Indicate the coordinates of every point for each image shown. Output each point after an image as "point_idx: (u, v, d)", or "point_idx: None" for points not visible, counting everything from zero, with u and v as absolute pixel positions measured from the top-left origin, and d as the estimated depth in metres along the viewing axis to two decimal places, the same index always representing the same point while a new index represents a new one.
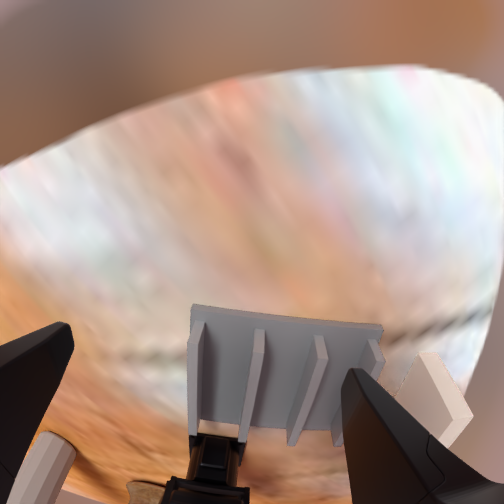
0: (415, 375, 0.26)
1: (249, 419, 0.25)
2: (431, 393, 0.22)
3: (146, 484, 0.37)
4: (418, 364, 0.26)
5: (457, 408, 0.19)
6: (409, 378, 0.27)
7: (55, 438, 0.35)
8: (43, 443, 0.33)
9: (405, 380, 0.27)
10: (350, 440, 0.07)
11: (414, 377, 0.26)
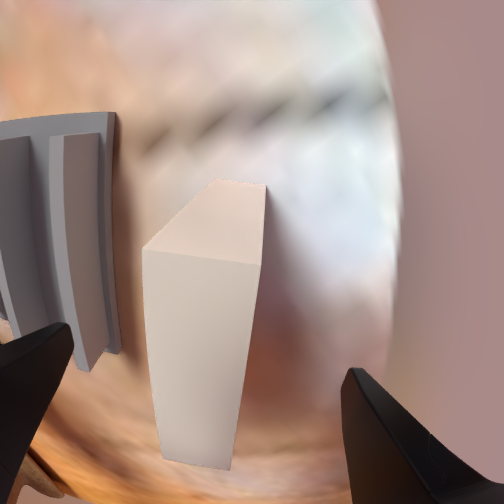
0: None
1: None
2: None
3: None
4: None
5: (202, 236, 0.07)
6: None
7: None
8: None
9: None
10: (350, 440, 0.07)
11: None
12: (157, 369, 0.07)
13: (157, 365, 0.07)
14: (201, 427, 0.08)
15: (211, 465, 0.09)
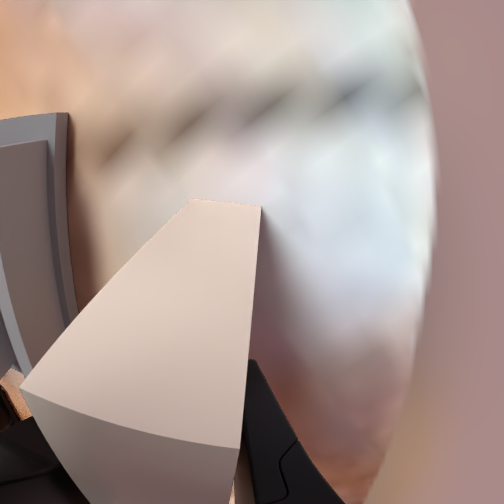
0: None
1: None
2: None
3: None
4: None
5: (133, 350, 0.03)
6: None
7: None
8: None
9: None
10: None
11: None
12: None
13: (98, 503, 0.04)
14: None
15: None
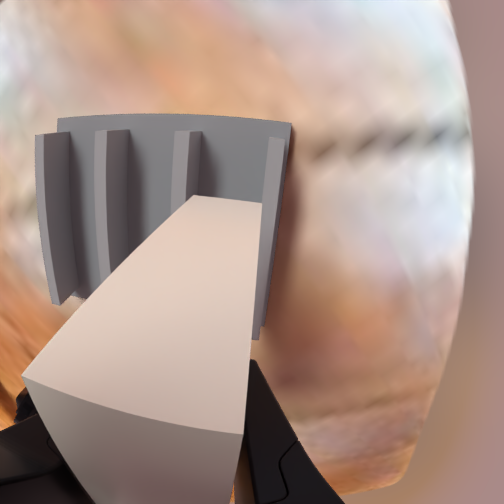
0: None
1: (108, 264, 0.18)
2: None
3: None
4: None
5: (136, 338, 0.04)
6: None
7: None
8: None
9: None
10: None
11: None
12: (101, 500, 0.04)
13: (99, 497, 0.04)
14: None
15: None
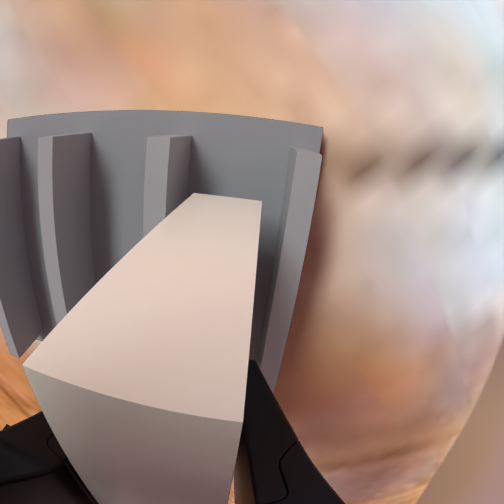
0: None
1: None
2: None
3: None
4: None
5: (138, 330, 0.04)
6: None
7: None
8: None
9: None
10: None
11: None
12: (100, 495, 0.04)
13: (98, 491, 0.04)
14: None
15: None
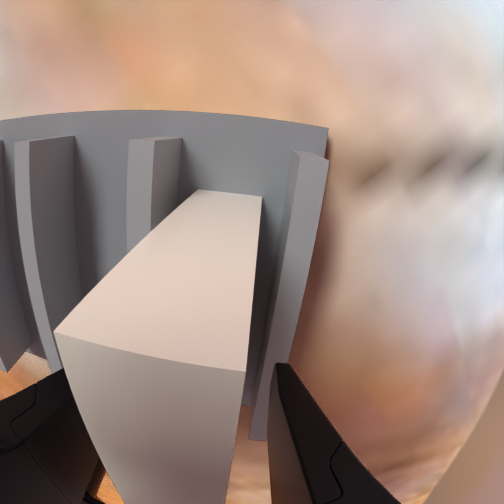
0: None
1: (51, 338, 0.11)
2: None
3: None
4: None
5: (154, 302, 0.04)
6: None
7: None
8: None
9: None
10: (270, 438, 0.07)
11: None
12: (112, 465, 0.04)
13: (111, 461, 0.04)
14: None
15: None
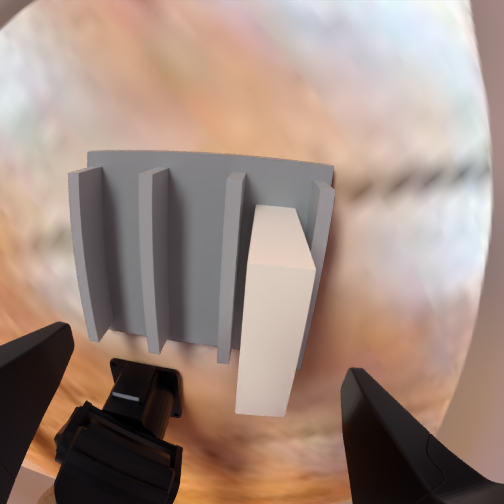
0: None
1: (153, 305, 0.19)
2: None
3: None
4: None
5: (276, 254, 0.12)
6: None
7: None
8: None
9: None
10: (350, 440, 0.07)
11: None
12: (246, 338, 0.12)
13: (247, 335, 0.12)
14: (270, 379, 0.13)
15: (271, 413, 0.14)
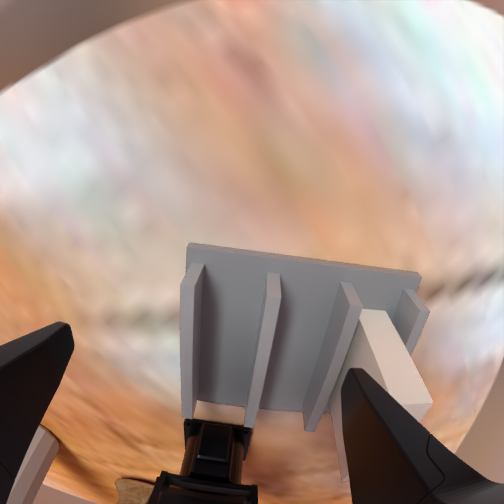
0: (351, 340, 0.20)
1: (259, 395, 0.20)
2: (368, 364, 0.17)
3: (136, 482, 0.32)
4: None
5: (405, 389, 0.13)
6: None
7: None
8: None
9: None
10: (350, 440, 0.07)
11: (350, 344, 0.20)
12: None
13: None
14: None
15: None
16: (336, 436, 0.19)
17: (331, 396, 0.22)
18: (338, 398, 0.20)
